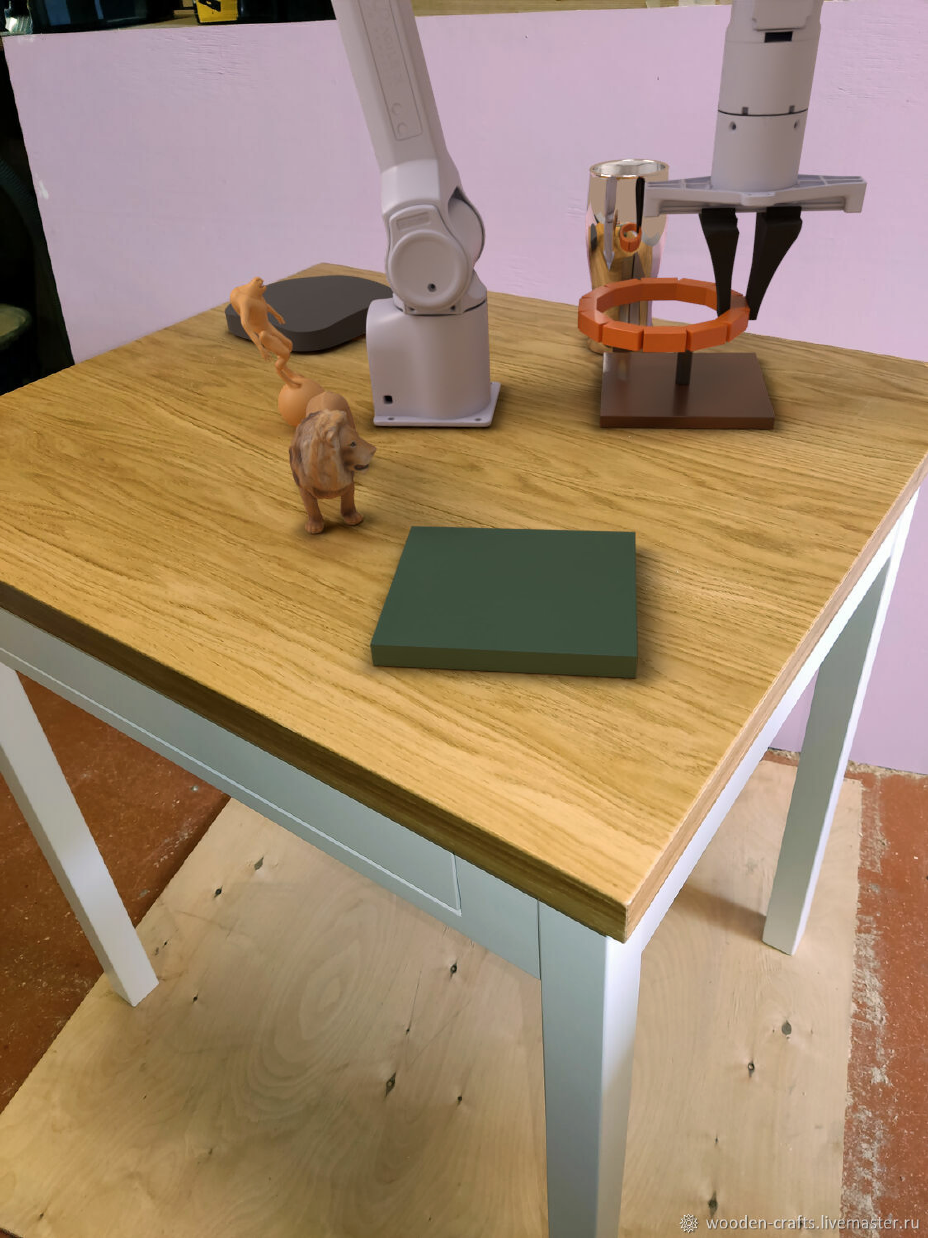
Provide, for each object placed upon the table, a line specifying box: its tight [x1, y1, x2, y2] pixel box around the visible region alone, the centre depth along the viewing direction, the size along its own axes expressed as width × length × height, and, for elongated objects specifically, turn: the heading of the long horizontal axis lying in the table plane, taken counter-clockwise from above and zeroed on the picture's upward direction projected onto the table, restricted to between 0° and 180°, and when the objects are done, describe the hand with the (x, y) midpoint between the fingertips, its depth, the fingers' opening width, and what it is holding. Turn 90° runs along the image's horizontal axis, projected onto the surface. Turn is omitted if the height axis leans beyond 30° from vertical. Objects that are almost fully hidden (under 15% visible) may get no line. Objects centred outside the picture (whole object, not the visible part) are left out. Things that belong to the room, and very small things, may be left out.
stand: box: [369, 525, 639, 679], centre depth 52 cm, size 14×12×2 cm
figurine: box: [229, 276, 326, 428], centre depth 70 cm, size 8×6×12 cm
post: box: [599, 349, 776, 430], centre depth 73 cm, size 13×13×4 cm
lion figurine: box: [288, 390, 378, 535], centre depth 61 cm, size 15×5×9 cm, turn 13°
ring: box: [577, 277, 750, 353], centre depth 68 cm, size 12×12×1 cm
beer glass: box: [584, 158, 670, 355], centre depth 80 cm, size 7×7×15 cm
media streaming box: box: [224, 274, 394, 352], centre depth 92 cm, size 15×15×3 cm
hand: (735, 315), depth 68 cm, fingers closed on ring, 1 cm apart
